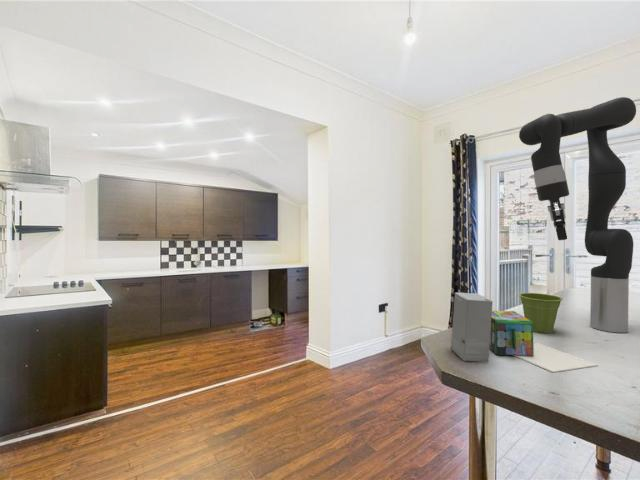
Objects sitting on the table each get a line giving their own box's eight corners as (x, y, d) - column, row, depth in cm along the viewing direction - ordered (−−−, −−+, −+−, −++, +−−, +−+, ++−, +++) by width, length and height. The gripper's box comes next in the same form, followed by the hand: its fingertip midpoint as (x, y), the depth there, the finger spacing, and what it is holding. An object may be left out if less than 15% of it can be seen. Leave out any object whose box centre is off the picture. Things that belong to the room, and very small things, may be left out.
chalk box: (515, 341, 90) (541, 363, 76) (481, 340, 92) (500, 360, 78) (515, 310, 90) (541, 325, 76) (481, 309, 92) (500, 324, 77)
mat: (496, 348, 86) (496, 347, 86) (535, 343, 90) (535, 342, 90) (552, 372, 71) (552, 371, 71) (597, 366, 74) (597, 364, 74)
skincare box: (450, 349, 85) (450, 292, 85) (476, 349, 85) (477, 292, 85) (463, 362, 77) (464, 298, 76) (493, 362, 77) (493, 298, 76)
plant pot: (517, 331, 101) (518, 297, 100) (518, 323, 110) (518, 291, 110) (564, 338, 94) (564, 301, 94) (560, 328, 104) (561, 295, 104)
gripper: (567, 177, 86) (581, 239, 85) (565, 181, 97) (576, 236, 96) (535, 185, 90) (547, 243, 90) (536, 187, 101) (547, 240, 101)
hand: (562, 239), depth 93 cm, fingers closed
